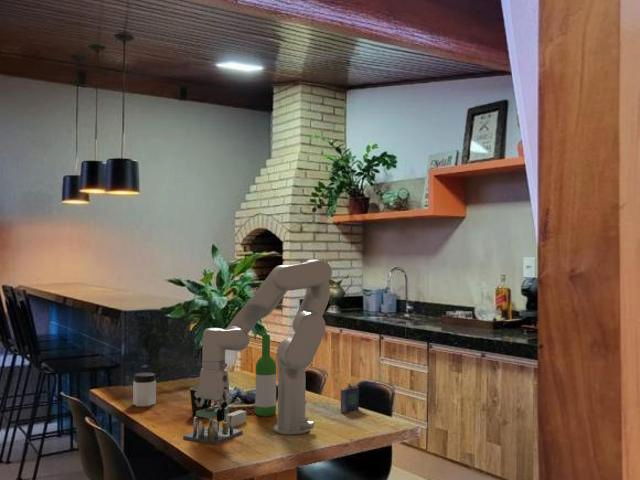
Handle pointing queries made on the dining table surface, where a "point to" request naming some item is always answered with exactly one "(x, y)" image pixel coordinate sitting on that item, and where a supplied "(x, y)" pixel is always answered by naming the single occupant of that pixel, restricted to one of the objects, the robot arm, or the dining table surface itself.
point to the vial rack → (213, 431)
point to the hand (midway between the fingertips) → (212, 418)
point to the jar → (144, 389)
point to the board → (209, 412)
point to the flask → (349, 399)
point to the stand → (237, 418)
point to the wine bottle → (265, 381)
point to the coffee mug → (196, 401)
